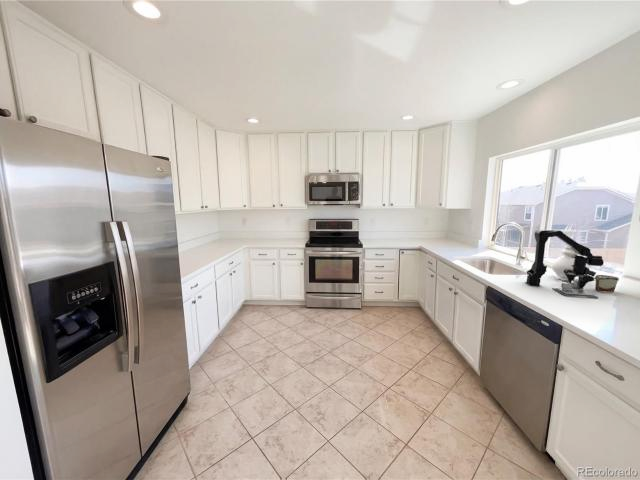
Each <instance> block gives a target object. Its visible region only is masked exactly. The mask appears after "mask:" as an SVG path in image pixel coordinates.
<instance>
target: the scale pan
mask: <svg viewBox="0 0 640 480" xmlns="http://www.w3.org/2000/svg"><path fill="white" fill-rule="evenodd" d="M555 288H556V289H558V290H559V291H561V292H563V293H565V294H578V295H592V296H596V295H595V294H594V293H591V292H590V291H587V290H586V289H572V292H567V291H562V290H561V287H555Z"/></svg>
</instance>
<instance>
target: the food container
mask: <svg viewBox="0 0 640 480" xmlns="http://www.w3.org/2000/svg"><path fill="white" fill-rule="evenodd" d="M593 278H594V280H595V285H594V290H595V291H596V292H597V293H598V292H599V293H614V292H615V289H616V287H617V284H618V282H619V281H620V278H619V277H617V276H613V275H607V274H595V276H594V277H593Z"/></svg>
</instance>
